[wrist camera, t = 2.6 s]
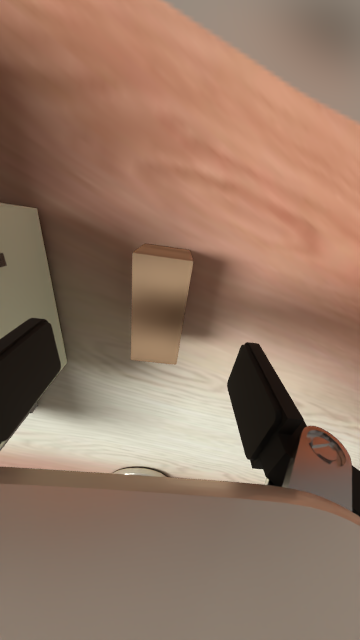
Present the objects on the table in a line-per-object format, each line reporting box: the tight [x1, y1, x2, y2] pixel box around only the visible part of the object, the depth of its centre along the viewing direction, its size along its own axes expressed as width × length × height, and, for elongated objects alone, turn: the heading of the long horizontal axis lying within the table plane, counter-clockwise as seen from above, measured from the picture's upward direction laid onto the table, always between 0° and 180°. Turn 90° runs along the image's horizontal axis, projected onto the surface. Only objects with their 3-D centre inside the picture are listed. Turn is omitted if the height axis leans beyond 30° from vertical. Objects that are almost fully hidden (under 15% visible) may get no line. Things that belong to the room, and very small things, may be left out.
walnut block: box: [131, 244, 193, 364], centre depth 17 cm, size 9×4×5 cm, turn 172°
